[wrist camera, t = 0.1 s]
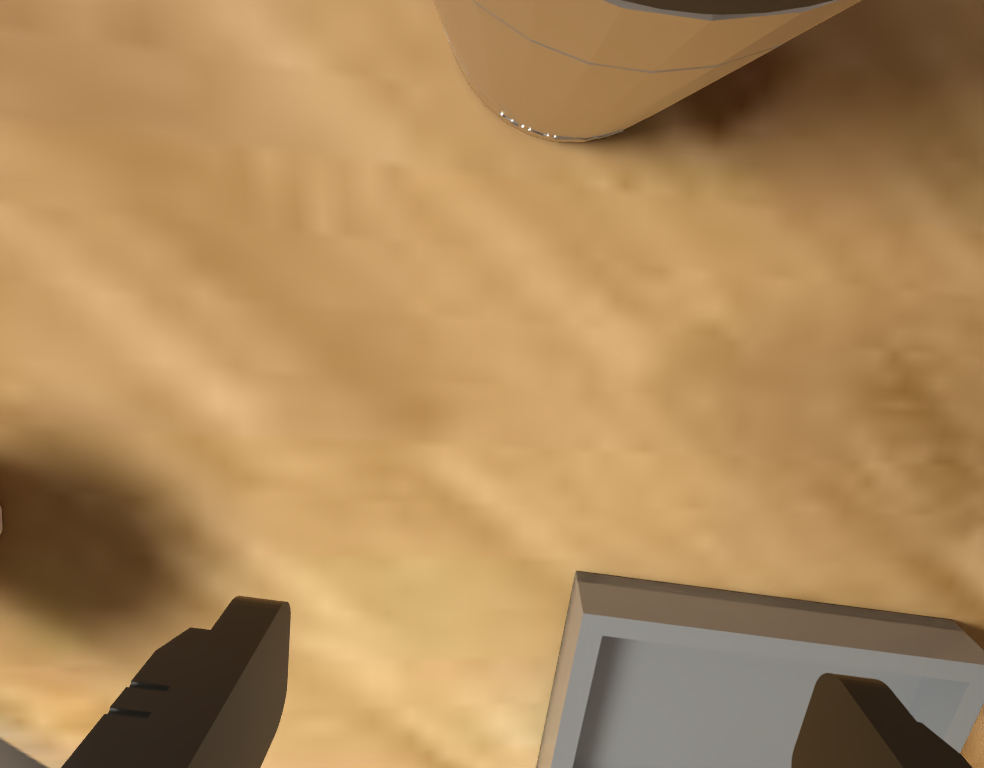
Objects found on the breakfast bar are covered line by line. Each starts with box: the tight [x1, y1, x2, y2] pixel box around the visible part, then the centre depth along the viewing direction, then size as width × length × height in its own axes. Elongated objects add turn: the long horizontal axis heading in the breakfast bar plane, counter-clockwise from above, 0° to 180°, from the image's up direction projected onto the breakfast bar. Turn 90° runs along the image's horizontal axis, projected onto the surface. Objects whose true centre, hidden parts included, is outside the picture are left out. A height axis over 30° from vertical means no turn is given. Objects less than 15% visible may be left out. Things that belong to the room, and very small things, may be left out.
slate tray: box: [536, 571, 984, 768], centre depth 29 cm, size 14×18×3 cm
